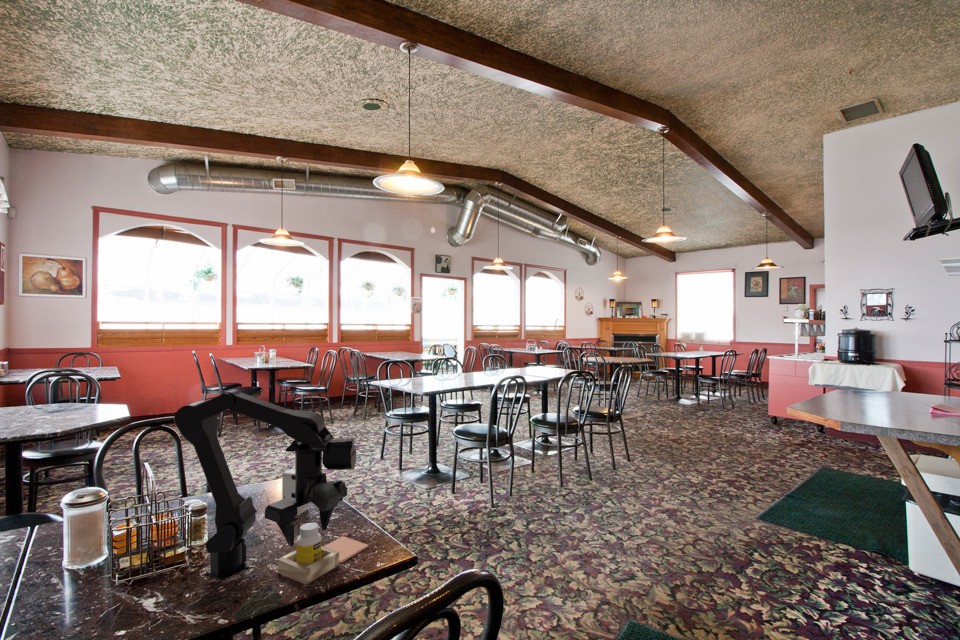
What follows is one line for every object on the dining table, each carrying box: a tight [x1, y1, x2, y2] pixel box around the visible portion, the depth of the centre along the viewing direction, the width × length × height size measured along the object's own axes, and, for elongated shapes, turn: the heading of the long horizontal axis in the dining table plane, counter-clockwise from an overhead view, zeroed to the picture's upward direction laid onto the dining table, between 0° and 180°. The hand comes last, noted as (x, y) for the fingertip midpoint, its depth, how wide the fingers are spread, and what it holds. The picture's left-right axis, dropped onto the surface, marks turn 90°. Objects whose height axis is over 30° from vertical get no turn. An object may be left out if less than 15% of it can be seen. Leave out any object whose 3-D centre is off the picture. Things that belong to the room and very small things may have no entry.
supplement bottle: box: [295, 522, 322, 567], centre depth 107 cm, size 5×5×10 cm
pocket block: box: [277, 545, 340, 585], centre depth 107 cm, size 9×9×3 cm
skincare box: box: [281, 468, 309, 516], centre depth 139 cm, size 6×4×12 cm
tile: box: [324, 535, 369, 564], centre depth 116 cm, size 9×9×1 cm
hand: (308, 537), depth 107 cm, fingers open, 9 cm apart
